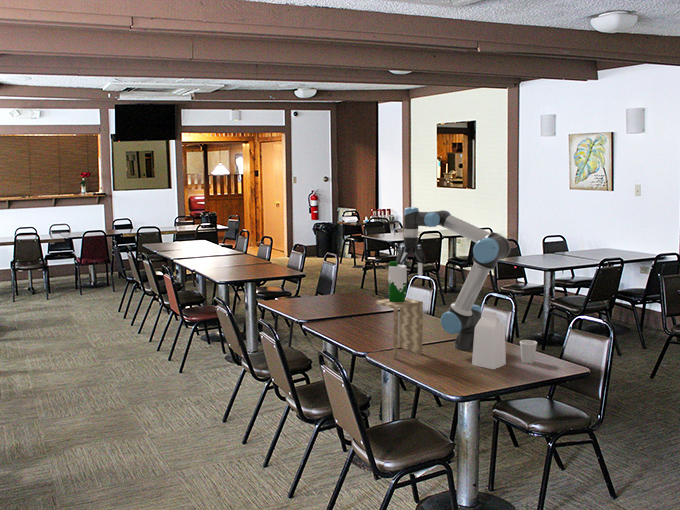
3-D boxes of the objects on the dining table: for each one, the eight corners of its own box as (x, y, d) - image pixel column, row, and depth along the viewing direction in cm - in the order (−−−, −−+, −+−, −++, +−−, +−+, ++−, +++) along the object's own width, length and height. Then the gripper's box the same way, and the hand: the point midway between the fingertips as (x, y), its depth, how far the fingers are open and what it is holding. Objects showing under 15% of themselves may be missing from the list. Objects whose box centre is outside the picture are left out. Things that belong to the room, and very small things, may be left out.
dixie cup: (523, 364, 338) (523, 344, 336) (516, 359, 346) (516, 340, 344) (539, 363, 339) (540, 343, 338) (532, 359, 347) (532, 339, 346)
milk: (471, 364, 337) (473, 312, 334) (483, 359, 346) (485, 308, 343) (494, 369, 330) (495, 315, 326) (505, 364, 338) (507, 311, 335)
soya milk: (389, 298, 360) (390, 260, 357) (407, 299, 358) (407, 260, 355) (387, 302, 351) (387, 262, 349) (405, 302, 349) (405, 263, 347)
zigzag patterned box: (375, 352, 360) (375, 300, 356) (401, 347, 370) (402, 296, 367) (395, 359, 347) (395, 305, 344) (422, 353, 357) (422, 301, 354)
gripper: (423, 234, 381) (423, 273, 383) (388, 237, 366) (388, 277, 369) (433, 235, 375) (432, 274, 377) (397, 238, 360) (397, 279, 363)
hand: (410, 276), depth 373 cm, fingers open, 13 cm apart
